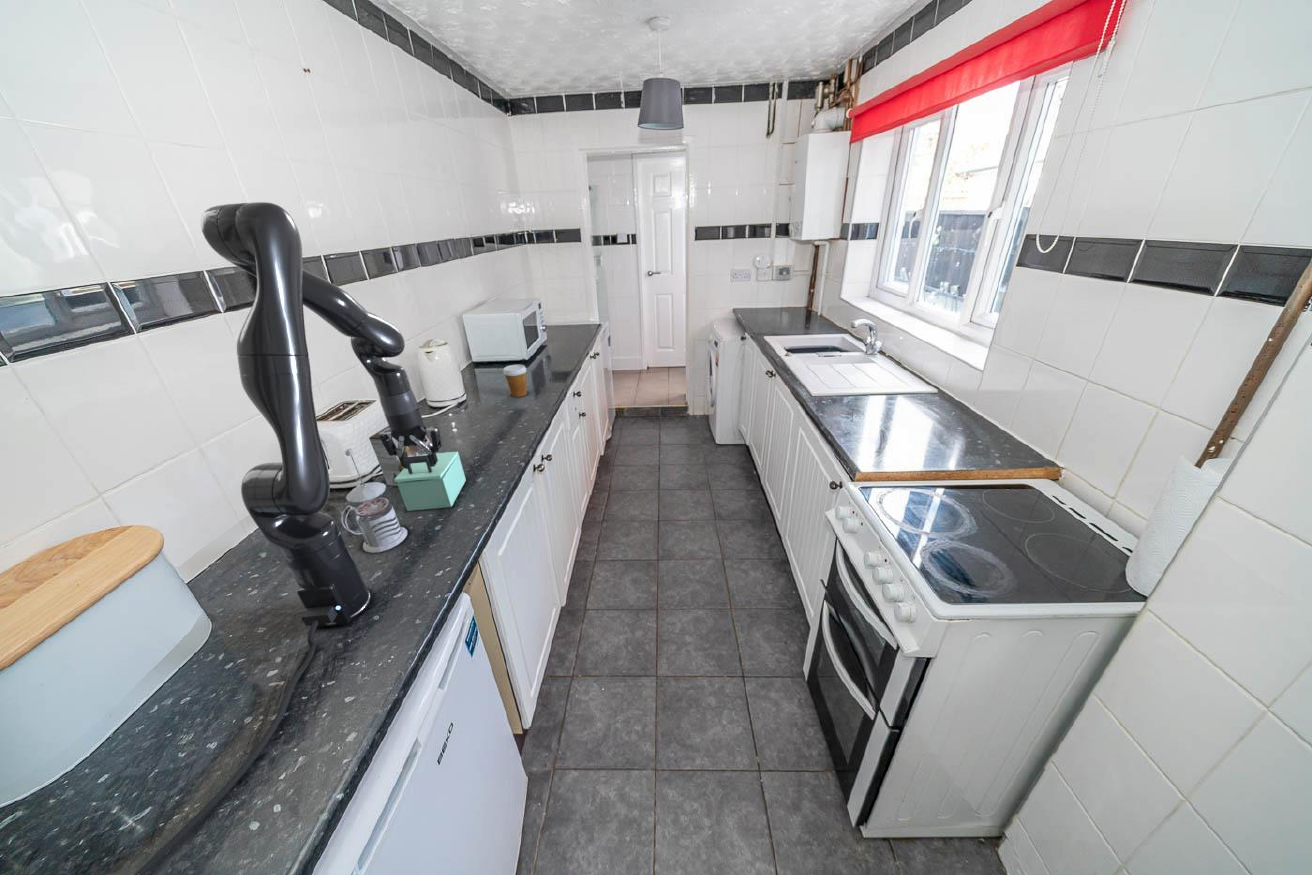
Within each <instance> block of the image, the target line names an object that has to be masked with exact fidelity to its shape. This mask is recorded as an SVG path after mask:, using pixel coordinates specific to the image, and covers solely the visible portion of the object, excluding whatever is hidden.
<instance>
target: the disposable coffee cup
mask: <svg viewBox="0 0 1312 875" xmlns="http://www.w3.org/2000/svg"><path fill="white" fill-rule="evenodd" d="M502 373H503V375H504V376H505V379H506V382H507V386H508V387H509V390H510V394H511V396H512V397H514V398H520V397H525V396H526V395H527V394H528V388H527V386H528V385H527V367H526V366H525V365H524V364H510V365H507V366H505V367H504V368H503V372H502Z"/></svg>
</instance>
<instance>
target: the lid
mask: <svg viewBox="0 0 1312 875" xmlns="http://www.w3.org/2000/svg"><path fill="white" fill-rule="evenodd" d="M435 453H436V456H437V459H438V462H437V463H436V465H435V466H434V467H431V465H430V462H429V459H428V456H427V455H428V454H427V453H423V454H419V455H416V456H412V457H404V459H403V462H404V464H406V465H407V469H405V468H404V469H403V470H402V471H401V473H400V474H399V475H398V476H397V477H396V478H395V479H394V481H395V482H403V481H414V480H426V479H437V478H441V477H442V476H443V475H444V473H445V472H446V471H447V469H448V468H449V466H450V465H451V464H452V462H453V461H454V459H455V458H456V457H457V455H458V454H459V451H449V452H435ZM410 464H411V465H410Z"/></svg>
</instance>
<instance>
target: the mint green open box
mask: <svg viewBox="0 0 1312 875" xmlns="http://www.w3.org/2000/svg"><path fill="white" fill-rule="evenodd" d="M466 481H467V479H466V475H465V471H464V469H463V464H462V460H461V457H460V454H459V453H458V455H457V457H456V458H455V459H454V461H453V462H452V464H451V465H450V466H449V468H448V469H447V471H446V472H445V473H444V475H443V476H442V477H441V478H437V479H426V480H414V481H403V482H398V483H397V484H398V486H397V487H398V489H399V493H400V495H401V498H402V500H403V503H404V506H405V509H406V511H407V512H410V511H411V512H413V511H420V510H422V511H423V510H432V509H442V508H443V509H444V508H452V506H454V503H455V501H456V500H457V497H458V496H459V494H460V492H461V491H462V489H463V487H464V485H465V483H466Z"/></svg>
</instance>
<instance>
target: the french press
mask: <svg viewBox="0 0 1312 875" xmlns="http://www.w3.org/2000/svg"><path fill="white" fill-rule="evenodd" d="M344 454H345V456H347V457H350V458H351V460H352V462H353V465H354V467H355V470H356V472H357V474H358V477H359V479H360V482H361V484H360V485H358V486H356V487H354V488H352V490H351V491H350V492H349V493H347V495H346V497H345V500H346V501H347V502H348V503H352V504H358V506H357V507H354V506H352V505H346V507H345V508H344V509H343V511H342V513H341V516H340V523H341V525H342V527H343V528H344V529H345V531H347V532H349V533H351V534H353V535H361V536H362V538H363V540H364V542H363V544H362V549H363V551H364V552H367V553H371V554H372V553H382V552H385V551H388V550H390V549H392V548H395V547H396V546H398V545H400V544H401V543H402V542H403V541H405V539H406V538H407V536H408V530H407V529H406V528H405V527H403V526H401V525H400V522H399V519H398V517H397V514H396V512H395V508H394V506H393V504H392V503H390V500H389V499H388V498H385V497H380V496H381V495H383V494H384V492H385V491H386V487H387V484H385V483H383V482H378V481H372V482H366V483H364V482H363V480H362V477H361V474H360V472H359V470H358V467H357V465H356V463H355V460H354V457H353V455H355V454H356V451H355V449H354V448H347V449H345V451H344ZM348 508H350V509H349V510H348V511H347V513H346V515H345V518H344V513H345V511H346V510H347V509H348ZM350 512H354V514H355V520H356V523H357V526H358V527H359V530H351V529H350V528H349V525H348V522H347V521H348V519H347V518H348V516H349V513H350ZM372 516H373V517H372ZM375 516H376V517H375ZM367 517H369V518H367ZM365 518H366V519H365ZM364 519H365V520H364ZM343 520H344V521H343ZM344 522H345V523H344Z"/></svg>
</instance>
